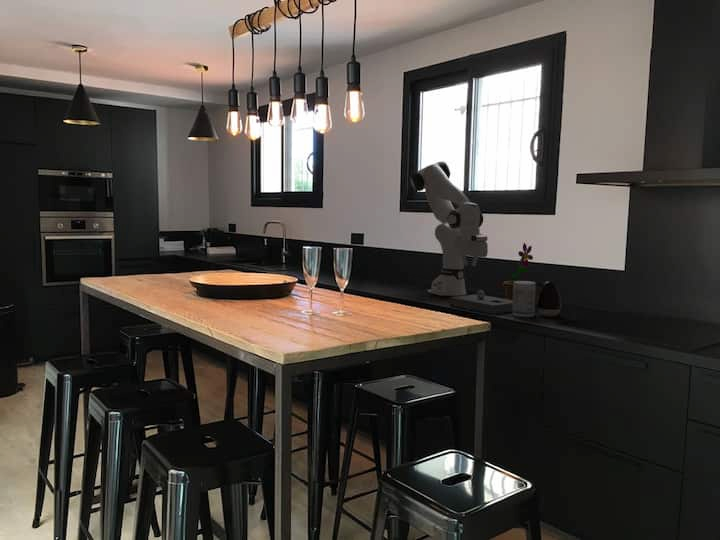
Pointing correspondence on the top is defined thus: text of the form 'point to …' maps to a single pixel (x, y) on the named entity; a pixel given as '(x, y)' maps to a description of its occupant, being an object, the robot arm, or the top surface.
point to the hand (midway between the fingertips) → (469, 265)
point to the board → (483, 303)
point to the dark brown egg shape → (549, 299)
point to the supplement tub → (524, 298)
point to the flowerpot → (509, 284)
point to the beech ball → (480, 294)
